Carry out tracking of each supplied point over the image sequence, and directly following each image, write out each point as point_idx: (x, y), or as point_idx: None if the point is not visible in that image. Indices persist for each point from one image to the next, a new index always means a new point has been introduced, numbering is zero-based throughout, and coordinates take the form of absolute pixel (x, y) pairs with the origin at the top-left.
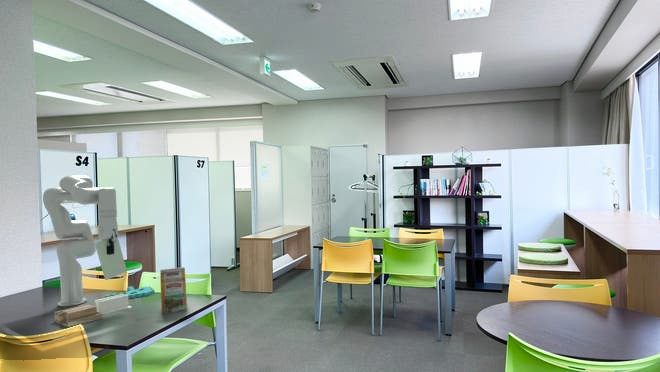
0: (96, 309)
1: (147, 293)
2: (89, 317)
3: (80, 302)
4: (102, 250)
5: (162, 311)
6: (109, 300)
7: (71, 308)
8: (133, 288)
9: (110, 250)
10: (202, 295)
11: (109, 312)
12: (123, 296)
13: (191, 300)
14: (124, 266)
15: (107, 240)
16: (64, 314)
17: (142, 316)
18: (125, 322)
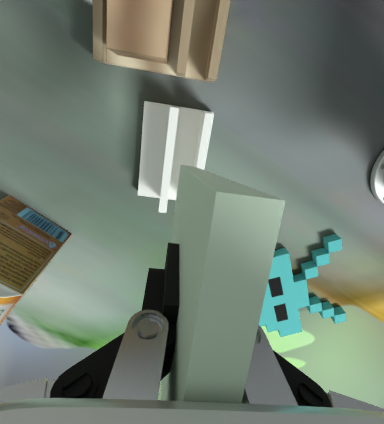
0: (110, 49)
1: None
2: (93, 5)
3: (374, 173)
4: (185, 227)
5: (3, 199)
6: (166, 145)
7: (223, 6)
8: (322, 315)
9: (146, 285)
10: (91, 338)
11: (145, 122)
12: (160, 196)
13: (73, 304)
14: None
15: (148, 398)
16: None
17: (40, 158)
18: (20, 92)
